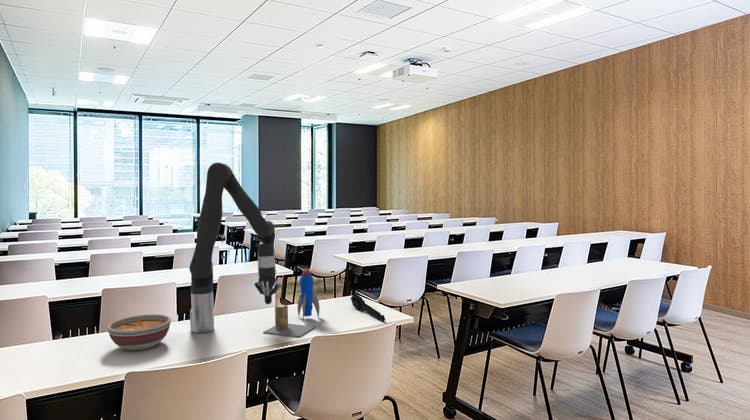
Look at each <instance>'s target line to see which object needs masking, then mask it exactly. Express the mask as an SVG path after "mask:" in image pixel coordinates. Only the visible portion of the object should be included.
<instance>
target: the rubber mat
mask: <svg viewBox="0 0 750 420" xmlns="http://www.w3.org/2000/svg"><path fill="white" fill-rule="evenodd" d="M314 329H316V326H313V325H305V324H304V325H303V324H294V323H288V328H286V329H284V330H278V329H276V328H275V325H274V326H272V327H270V328H268V329H266V330H264V331H262V332H263V333H262V334H266V335H267V334H268V335H275V336H284V337H292V338H294V337H295V338H301V337H303V336H305V335H306V334H308V333H310V332H311V331H313V330H314Z"/></svg>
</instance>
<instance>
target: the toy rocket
mask: <svg viewBox="0 0 750 420" xmlns="http://www.w3.org/2000/svg"><path fill="white" fill-rule="evenodd" d="M299 286H300V295H299V296H298V300H297V315H298V317H300V315H301V310H302V318H303V322H305V317H310V316H312V315H313V313H312V310H313V307H314V308H315V311H316V316H317V318H319V317H320V302H319V298H318V297H317V295H316V294H315V293H314V277H313V275H312V274H311V271H310V270H309V268H308V267H307V266H306V267H304V270H303V271H302V274H301V276H300V279H299ZM313 305H314V306H313Z"/></svg>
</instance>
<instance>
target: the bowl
mask: <svg viewBox="0 0 750 420" xmlns="http://www.w3.org/2000/svg"><path fill="white" fill-rule="evenodd" d="M171 322H172V321H171V317H170V316H169V315H164V314H155V313H154V314H153V313H150V314H139V315H132V316H128V317H124V318H120V319H116V320H115V321H112V322H110V323H109V324H108V325H107V332H108V334H109V337H110V339H111V340H112V342H113V343H114V344H115V345H116V346H117V347H119V348H121V349H123V350H126V351H133V352H134V351H143V350H147V349H150V348H153V347H155V346H157V345H159V344H160V343H161V342H162V341H163V339H165V337H166V336H167V335H168V332H169V330H170V327H171Z"/></svg>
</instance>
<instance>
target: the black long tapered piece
mask: <svg viewBox="0 0 750 420" xmlns="http://www.w3.org/2000/svg"><path fill="white" fill-rule="evenodd" d="M350 300H351V303H352V306H353V307H354V308H355V310H356V309H357V310H359V311H363V312H364V311H365V313H367V314H368V315H370V316H372V317H373V319H376V320H377V321H379V320H380V322H381V323H383V322H385V321H386V318H385V317H386V316H385V315H384V314H381V312H379V311H377V309H375V308H374V307H372V306H371V305H369V304H367V303H366V301H365V300H364V299H363V297H362V296H361V295H359V294H357V293H356V292H354V293H352V295H351V297H350Z"/></svg>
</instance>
